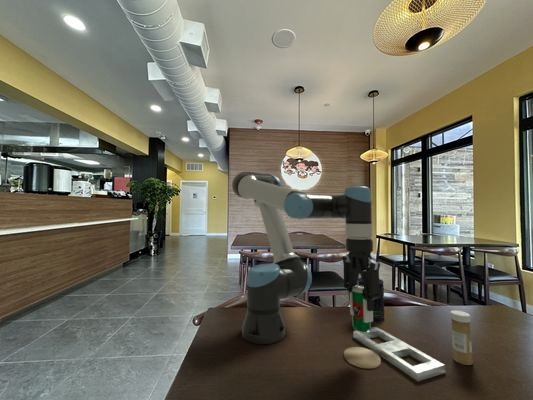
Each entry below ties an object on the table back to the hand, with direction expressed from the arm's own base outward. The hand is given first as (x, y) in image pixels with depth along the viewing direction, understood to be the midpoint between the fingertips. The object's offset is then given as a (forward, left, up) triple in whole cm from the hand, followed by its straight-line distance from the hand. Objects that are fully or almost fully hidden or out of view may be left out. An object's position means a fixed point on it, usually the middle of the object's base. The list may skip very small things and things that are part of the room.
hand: (361, 317), depth 73 cm
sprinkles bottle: (+11, +26, -12) cm, 30 cm away
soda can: (0, 0, -3) cm, 3 cm away
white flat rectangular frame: (+1, +11, -12) cm, 16 cm away
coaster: (0, 0, -12) cm, 12 cm away
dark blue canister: (-22, +24, -12) cm, 35 cm away
